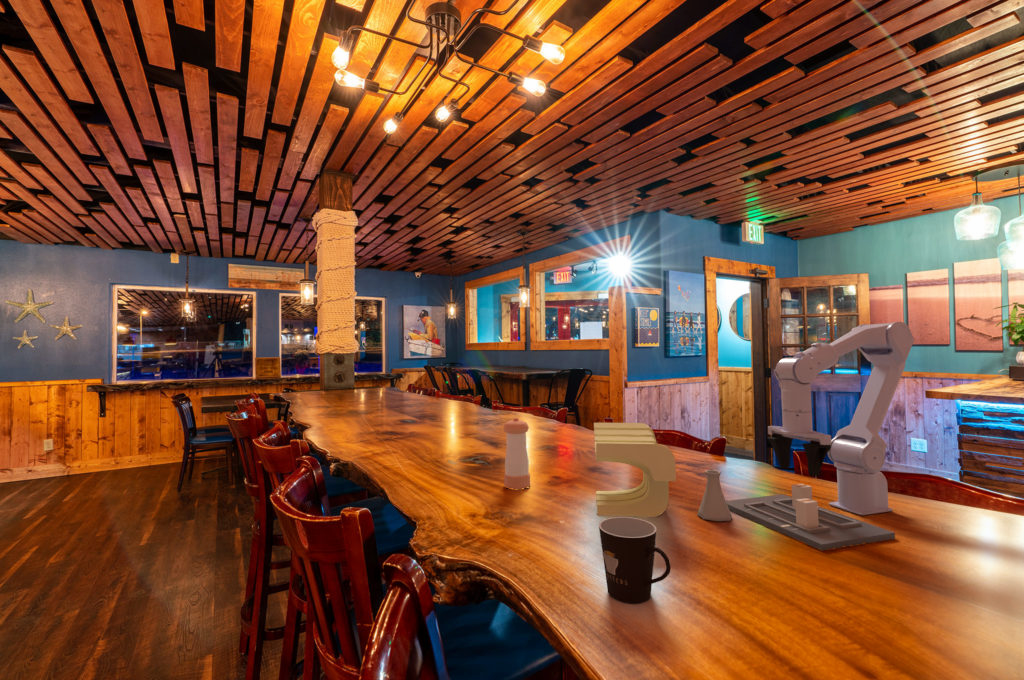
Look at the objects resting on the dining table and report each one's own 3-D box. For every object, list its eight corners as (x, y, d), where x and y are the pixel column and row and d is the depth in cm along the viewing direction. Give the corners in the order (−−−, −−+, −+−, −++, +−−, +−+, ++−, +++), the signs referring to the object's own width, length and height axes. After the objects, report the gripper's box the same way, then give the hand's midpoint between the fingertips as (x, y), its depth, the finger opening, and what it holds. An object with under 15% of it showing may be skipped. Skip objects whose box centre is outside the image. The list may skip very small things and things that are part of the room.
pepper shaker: (530, 490, 125) (529, 419, 126) (503, 490, 125) (502, 419, 126) (529, 482, 132) (528, 415, 133) (504, 483, 132) (503, 416, 133)
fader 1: (803, 506, 104) (802, 483, 104) (812, 509, 102) (811, 486, 102) (792, 507, 103) (791, 484, 103) (801, 510, 101) (800, 487, 101)
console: (782, 499, 114) (782, 491, 114) (895, 538, 88) (894, 529, 89) (721, 506, 109) (721, 499, 109) (822, 551, 84) (821, 541, 84)
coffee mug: (594, 580, 74) (592, 518, 75) (645, 577, 75) (644, 515, 75) (616, 622, 63) (614, 547, 63) (677, 618, 63) (675, 544, 64)
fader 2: (807, 522, 94) (806, 497, 94) (818, 527, 91) (817, 501, 92) (796, 524, 93) (795, 499, 93) (806, 528, 91) (805, 502, 91)
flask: (736, 523, 98) (734, 476, 98) (700, 521, 99) (699, 475, 100) (727, 512, 105) (726, 468, 105) (694, 510, 107) (692, 467, 107)
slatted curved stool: (677, 531, 94) (674, 444, 95) (598, 528, 97) (596, 443, 97) (655, 489, 124) (653, 422, 124) (595, 487, 126) (593, 422, 127)
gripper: (756, 408, 109) (758, 465, 109) (811, 415, 95) (814, 481, 95) (780, 406, 111) (782, 463, 111) (837, 413, 97) (840, 478, 97)
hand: (798, 471), depth 103 cm, fingers open, 7 cm apart
